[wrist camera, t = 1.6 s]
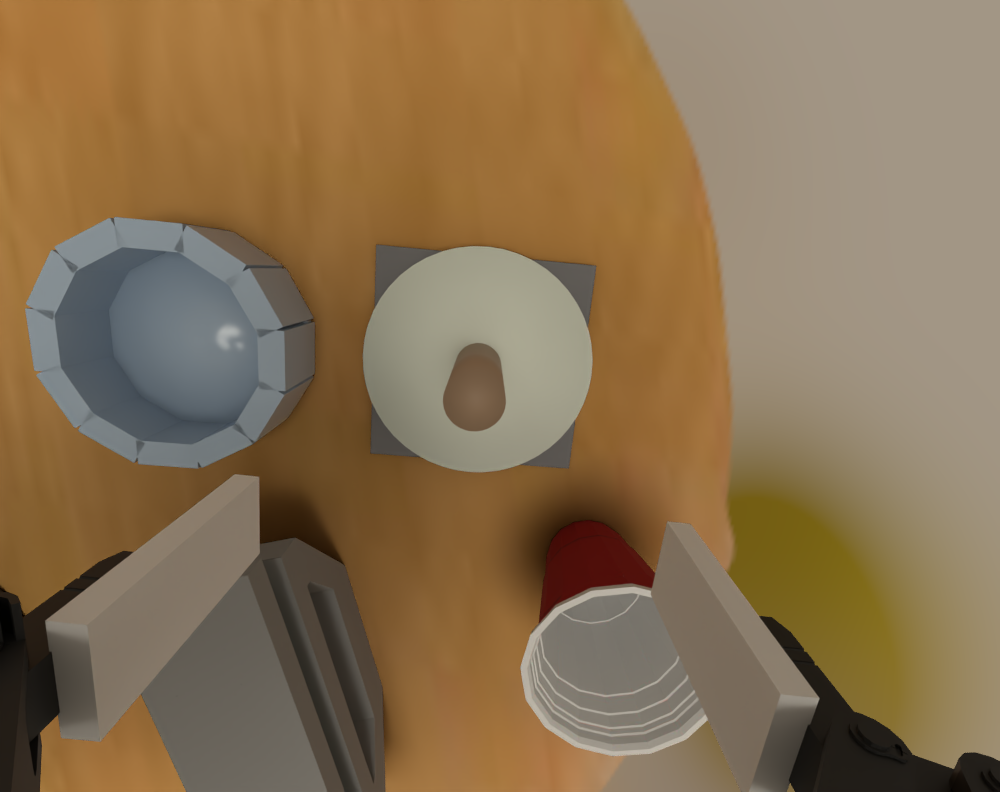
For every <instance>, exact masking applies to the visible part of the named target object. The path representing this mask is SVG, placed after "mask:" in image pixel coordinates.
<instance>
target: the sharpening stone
mask: <svg viewBox="0 0 1000 792" xmlns="http://www.w3.org/2000/svg"><path fill="white" fill-rule="evenodd" d="M141 695H142V697H143V700H144V702H145V704H146V706H147V708H148V710H149V713H150V715H151V717H152V719H153V721H154V723H155V725H156V728H157V730H158V732H159V734H160V736H161V738H162V740H163V743H164V745H165V747H166V749H167V751H168V753H169V756H170V758H171V760H172V762H173V764H174V766H175V768H176V771H177V773H178V775H179V777H180V779H181V781H182V783H183V786H184V788H185V790H186V792H385V760H384V726H383V692H382V684H381V681H380V678H379V674H378V671H377V668H376V665H375V662H374V658H373V655H372V652H371V649H370V645H369V642H368V639H367V636H366V632H365V629H364V626H363V623H362V620H361V616H360V613H359V610H358V607H357V603H356V600H355V597H354V594H353V590H352V587H351V584H350V581H349V578H348V574H347V571H346V568H345V565H343V564H341V563H340V562H338V561H336V560H334V559H333V558H331V557H329V556H327V555H326V554H324V553H322V552H320V551H318V550H317V549H315V548H313V547H311V546H310V545H308V544H306V543H304V542H303V541H301V540H299V539H297V538H290V539H285V540H280V541H274V542H269V543H263V544H260V554H259V555H258V556H257V557H256V558H255V560H254V561H253V562H252V563H251V564H250V566H249V567H248V568H247V569H246V570H245V571H244V573H243V574H242V575H241V576H240V577H239V579H238V580H237V581H236V582H235V583H234V584H233V586H232V587H231V588H230V589H229V590H228V592H227V593H226V594H225V595H224V596H223V597H222V599H221V600H220V601H219V602H218V603H217V605H216V606H215V607H214V608H213V609H212V610H211V612H210V613H209V614H208V615H207V616H206V618H205V619H204V620H203V621H202V622H201V623H200V625H199V626H198V627H197V628H196V629H195V631H194V632H193V633H192V634H191V635H190V636H189V638H188V639H187V640H186V641H185V642H184V644H183V645H182V646H181V647H180V648H179V649H178V651H177V652H176V653H175V654H174V655H173V656H172V658H171V659H170V660H169V661H168V662H167V664H166V665H165V666H164V667H163V668H162V669H161V671H160V672H159V673H158V674H157V675H156V677H155V678H154V679H153V680H152V681H151V682H150V684H149V685H148V686H147V687H146V688H145V690H144V691H143V692H142V693H141Z"/></svg>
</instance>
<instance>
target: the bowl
mask: <svg viewBox="0 0 1000 792" xmlns="http://www.w3.org/2000/svg"><path fill="white" fill-rule="evenodd" d="M55 248H56V250H51V252H50V254H49V256H48V258H47V260H46V262H45V265H44V267H43V269H42V271H41V273H40V275H39V277H38V279H37V282H36V284H35V286H34V288H33V290H32V292H31V294H30V296H29V298H28V301H27V303H26V305H28V306H30V307H31V308H25V310H26V317H27V324H28V331H29V338H30V344H31V351H32V358H33V365H34V371H43V372H41V373H39V374H37V377H38V378H39V380H40V381H41V382H42V384H43V385H44V387H45V388H46V389H47V391H48V392H49V393H50V395H51V396H52V398H53V399H54V400H55V402H56V403H57V404H58V406H59V407H60V409H61V410H62V411H63V413H64V414H65V415H66V417H67V418H68V420H69V421H70V422H71V424H72V425H73V427H74V428H76V427H79V426H80V428H79V430H78V431H79V432H81V433H82V434H84V435H86V436H88V437H89V438H91V439H93V440H95V441H96V442H98V443H100V444H102V445H103V446H105V447H107V448H109V449H111V450H112V451H114V452H116V453H118V454H119V455H121V456H123V457H125V458H126V459H128V460H130V461H132V462H133V463H135V462H136V461H138V464H144V465H157V466H171V467H184V468H200V467H202V468H203V467H205V466H207V465H209V464H211V463H214V462H216V461H218V460H220V459H222V458H224V457H226V456H229V455H231V454H233V453H235V452H237V451H239V450H242V449H244V448H246V447H248V446H250V445H252V444H254V443H255V442H256V441H258V440H259V439H260V438H262V437H263V436H264V435H266V434H267V433H269V432H270V431H271V430H273V429H274V428H275V427H277V426H278V425H279V424H281V423H282V422H283V421H285V420H286V419H287V418H288V417H289V416H290V414H291V413H292V411H293V410H294V408H295V406H296V405H297V403H298V402H299V400H300V398H301V397H302V395H303V394H304V392H305V390H306V389H307V387H308V386H309V384H310V382H311V381H312V379H313V378H314V377H313V376H312V375H313V374H315V322H311V319H313V316H312V314H311V312H310V310H309V309H308V307H307V305H306V303H305V301H304V300H303V298H302V296H301V294H300V292H299V291H298V289H297V287H296V285H295V283H294V282H293V280H292V278H291V276H290V274H289V273H288V271H287V269H285V268H282V267H283V265H282V264H280V263H279V262H277V261H276V260H274V259H273V258H272V257H270V256H269V255H267V254H266V253H264V252H263V251H261V250H260V249H258V248H257V247H255V246H254V245H252V244H251V243H249V242H248V241H246V240H245V239H243V238H242V237H240V236H239V235H237V234H236V233H234V232H230V231H228V230H221V229H214V228H208V227H201V226H195V225H188V224H181V223H171V222H161V221H150V220H140V219H129V218H119V217H114V218H108V219H106V220H104V221H103V222H101V223H99V224H97V225H95V226H93V227H91V228H89V229H87V230H85V231H84V232H82V233H80V234H78V235H76V236H74V237H72V238H70V239H68V240H66V241H64V242H63V243H61V244H59V245H57V246H55Z"/></svg>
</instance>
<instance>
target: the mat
mask: <svg viewBox="0 0 1000 792" xmlns="http://www.w3.org/2000/svg"><path fill="white" fill-rule="evenodd" d="M439 252H442V251H436V250H426V249H416V248H405V247H395V246H384V245H376V277H375V307H376V305H377V304H378V302H379V300H380V298H381V297H382V296H383V294H384V293H385V291H386V290H387V289H388V287H389V286H390V285H391V284H392V283H393V282H394V281H395V280H396V279H397V278H398V277H399V276H400V275H401V274H402V273H404V272H405V271H406V270H407V269H409V268H410V267H411V266H413V265H414V264H416V263H418V262H420V261H421V260H423V259H425V258H427V257H429V256H432V255H434V254H437V253H439ZM533 261H535V262H536V263H538V264H539V265H541V266H542V267H544V268H546V269H547V270H548V271H549V272H550V273H552V274H553V275H554V276H555V277H556V278H557V279H559V281H560V282H561V283H562V284H563V285H564V286H565V287H566V288H567V290H568V291H569V292H570V294H571V295H572V297H573V298H574V299H575V301H576V302H577V304H578V306H579V308H580V310H581V312H582V314H583V316H584V319H585V322H586V325H587V328H588V323H589V315H590V308H591V301H592V293H593V286H594V279H595V271H596V266H592V265H582V264H572V263H561V262H551V261H540V260H533ZM574 426H575V420H574V422H573V423H572V425H571V426H570V428H569V429H568V430H567V431H566V432H565V434H564V435H563V436H562V437H561V438H560V439H559V440H558V441H557V442H556V443H555V444H553V445H552V446H551V447H550V448H549V449H547V450H546V451H544V452H543V453H541V454H540V455H538V456H537V457H535V458H533V459H531V460H529V461H527V462H525V463H523V464H520V465H530V466H543V467H556V468H569V463H570V455H571V448H572V441H573V433H574ZM371 453H373V454H386V455H399V456H412V457H420V456H418V455H417V454H415V453H414V452H412V451H411V450H409V449H408V448H407V447H405V446H404V445H403V444H402V443H401V442H400V441H399V440H398V439H397V438H395V437H394V436H393V434H392V433H391V432H390V431H389V430H388V428H387V427H386V426H385V425H384V423H383V422H382V420H381V418H380V417H379V415H378V414H377V412H376V410H375V408H374V406H373V403H372V420H371Z"/></svg>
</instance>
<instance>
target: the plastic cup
mask: <svg viewBox="0 0 1000 792" xmlns="http://www.w3.org/2000/svg"><path fill="white" fill-rule="evenodd" d="M654 578H655V573H654V572H653V571H652V569H651V568H650V567H649V566H648V565H647V564H646V563H645V561H644V560H643V559H642V558H641V557H640V556H639V555H638V553H637V552H636V551H635V550H634V549H633V548H631V547H630V546H629V545H628V544H627V543H626V542H625V541H624V540H623V538H622V537H621V536H620V535H619V534H618V533H617V532H615V531H614V530H612V529H611V528H609V527H608V526H606V525H605V524H603V523H600V522H595V521H590V520H586V521H579V522H573V523H572V524H570V525H568V526H566V527H564V528H563V529H561V530H560V531H559V532H558V533H557V535H556V536H555V537H554V538H553V539H552V541H551V544H550V547H549V551H548V554H547V557H546V571H545V576H544V580H543V589H542V598H541V608H540V617H539V624H538V625H537V626H536V627H535V628H534V629H533V631H532V633H531V635H530V638H529V641H528V644H527V648H526V651H525V654H524V657H523V661H522V664H521V667H520V669H521V675H522V680H523V686H524V692H525V698H526V701H527V702H528V704H529V705H530V706H531V708H532V709H533V711H534V712H535V714H536V715H537V716H538V718H539V719H540V721H541V722H542V723H543V725H544V726H545V728H547V729H548V730H550V731H552V732H553V733H555V734H556V735H558V736H559V737H561V738H562V739H564V740H566V741H567V742H569V743H570V744H572V745H573V746H575V747H577V748H582V749H586V750H590V751H594V752H598V753H602V754H606V755H610V756H621V755H636V754H651V753H653V752H656V751H658V750H661V749H663V748H666V747H668V746H671V745H673V744H676V743H678V742H681V741H683V740H686V739H687V738H688V737H689V736H690V735H691V734H693V733H694V732H695V731H696V730H697V729H698V728H699V727H700V726H701V725H703V724H704V723H705V722H706V721H707V720H708V719H707V717H706V714H705V712H704V710H703V708H702V706H701V703H700V701H699V699H698V697H697V695H696V693H695V690H694V688H693V686H692V684H691V682H690V679H689V677H688V675H687V673H686V671H685V669H684V666H683V664H682V662H681V660H680V658H679V655H678V653H677V651H676V649H675V647H674V644H673V642H672V640H671V638H670V636H669V634H668V631H667V629H666V627H665V625H664V623H663V620H662V618H661V616H660V614H659V612H658V610H657V607H656V605H655V603H654V601H653V599H652V596H651V591H652V586H653V582H654Z"/></svg>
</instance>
